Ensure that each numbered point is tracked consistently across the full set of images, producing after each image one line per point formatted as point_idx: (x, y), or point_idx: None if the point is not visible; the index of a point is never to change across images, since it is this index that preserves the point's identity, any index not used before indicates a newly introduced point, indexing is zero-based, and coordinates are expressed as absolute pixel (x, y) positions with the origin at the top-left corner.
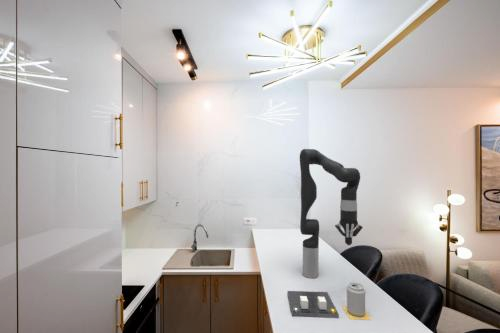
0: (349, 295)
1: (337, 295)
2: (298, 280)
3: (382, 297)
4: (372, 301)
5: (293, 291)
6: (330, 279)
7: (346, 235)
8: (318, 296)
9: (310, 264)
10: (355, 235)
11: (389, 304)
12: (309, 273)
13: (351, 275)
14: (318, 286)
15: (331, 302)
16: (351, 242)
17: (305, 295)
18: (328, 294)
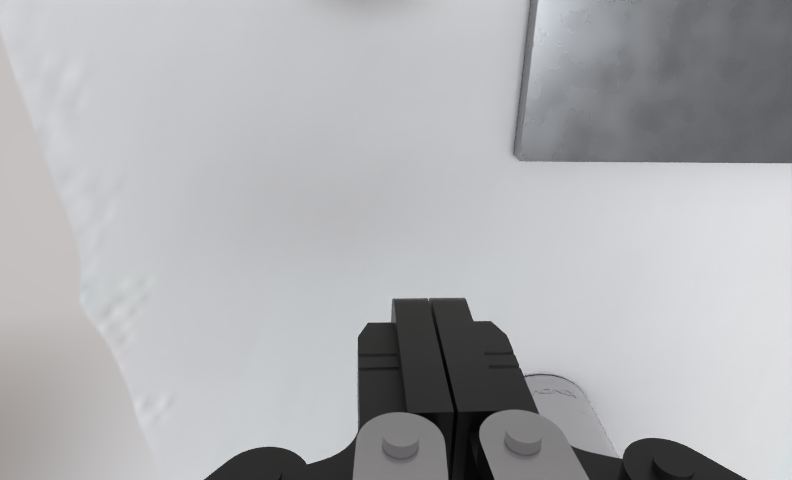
0: None
1: (436, 152)
2: (650, 341)
3: (83, 141)
4: (186, 78)
5: (780, 157)
6: None
7: (575, 457)
8: (616, 91)
9: (589, 450)
10: (248, 467)
11: (59, 39)
12: (570, 398)
13: (225, 434)
14: (534, 270)
15: (546, 5)
16: (371, 343)
17: (712, 102)
18: (524, 124)
